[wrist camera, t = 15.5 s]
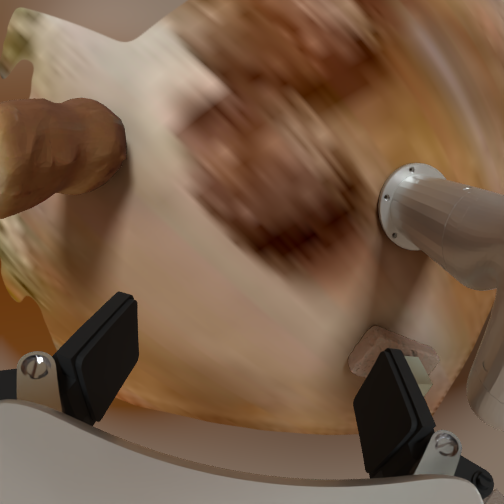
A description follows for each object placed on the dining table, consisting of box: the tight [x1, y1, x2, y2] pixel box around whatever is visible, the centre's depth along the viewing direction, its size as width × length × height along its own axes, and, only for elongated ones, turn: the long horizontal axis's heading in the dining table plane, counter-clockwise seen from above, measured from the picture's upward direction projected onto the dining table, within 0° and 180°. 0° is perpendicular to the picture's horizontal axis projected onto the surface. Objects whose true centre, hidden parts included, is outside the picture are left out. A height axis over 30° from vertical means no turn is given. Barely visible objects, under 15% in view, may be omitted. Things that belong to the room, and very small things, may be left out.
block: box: [404, 356, 433, 397], centre depth 37 cm, size 5×5×7 cm
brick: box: [348, 326, 440, 378], centre depth 43 cm, size 17×8×5 cm, turn 67°
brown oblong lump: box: [0, 98, 126, 219], centre depth 26 cm, size 14×13×25 cm
